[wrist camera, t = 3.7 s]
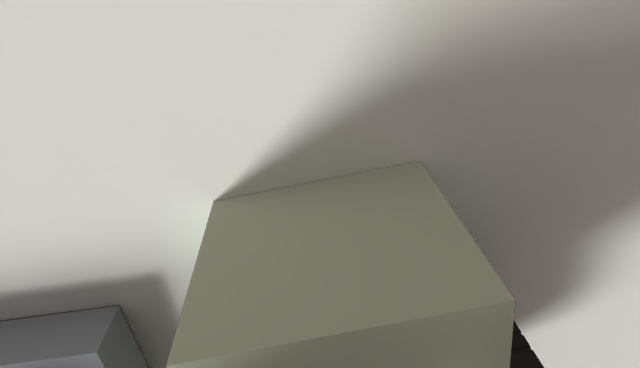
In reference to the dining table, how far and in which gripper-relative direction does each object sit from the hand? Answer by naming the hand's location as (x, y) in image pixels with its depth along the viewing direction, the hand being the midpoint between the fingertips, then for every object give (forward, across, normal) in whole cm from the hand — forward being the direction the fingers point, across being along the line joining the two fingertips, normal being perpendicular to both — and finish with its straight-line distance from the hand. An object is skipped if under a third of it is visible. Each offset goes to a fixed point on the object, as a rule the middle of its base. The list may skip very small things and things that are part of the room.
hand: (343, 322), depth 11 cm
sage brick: (+1, 0, 0) cm, 1 cm away
